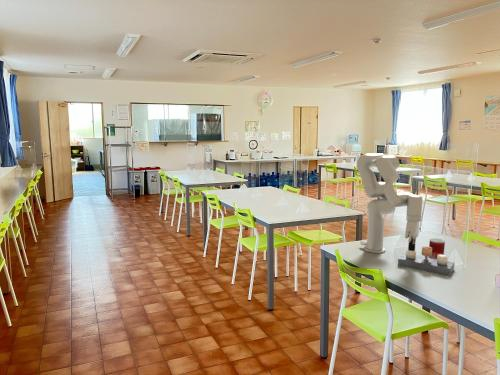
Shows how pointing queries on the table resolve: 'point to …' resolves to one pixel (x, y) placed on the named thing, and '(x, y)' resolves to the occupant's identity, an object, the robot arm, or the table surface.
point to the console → (426, 265)
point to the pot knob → (426, 252)
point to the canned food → (436, 247)
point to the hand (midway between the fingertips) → (411, 250)
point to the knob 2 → (442, 259)
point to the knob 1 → (411, 254)
